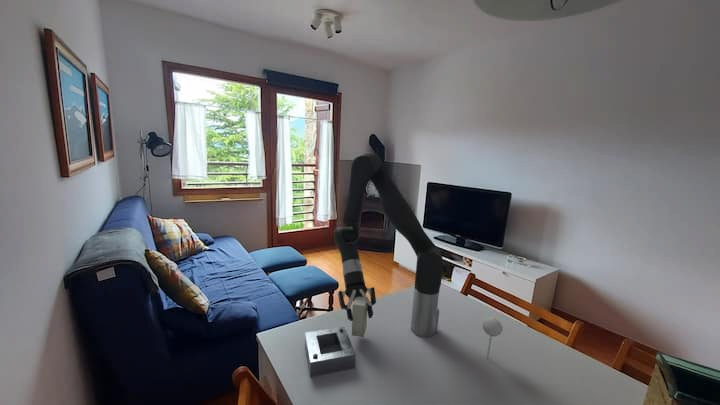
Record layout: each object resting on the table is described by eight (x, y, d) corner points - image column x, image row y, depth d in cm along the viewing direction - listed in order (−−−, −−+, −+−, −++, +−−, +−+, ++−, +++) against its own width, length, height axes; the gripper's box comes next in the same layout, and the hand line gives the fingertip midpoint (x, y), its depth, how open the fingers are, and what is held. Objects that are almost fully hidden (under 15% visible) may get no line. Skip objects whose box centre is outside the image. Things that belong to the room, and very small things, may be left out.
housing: (344, 338, 100) (344, 325, 99) (354, 368, 87) (355, 353, 86) (304, 345, 96) (305, 331, 95) (310, 377, 83) (310, 361, 82)
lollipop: (496, 355, 96) (502, 316, 93) (498, 367, 90) (505, 326, 87) (476, 350, 98) (482, 311, 95) (478, 361, 92) (484, 321, 89)
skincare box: (363, 337, 97) (364, 306, 94) (351, 335, 98) (352, 304, 95) (366, 326, 103) (368, 297, 100) (355, 324, 104) (356, 295, 101)
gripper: (336, 272, 101) (343, 320, 92) (373, 268, 105) (383, 313, 97) (333, 278, 107) (339, 324, 98) (368, 275, 111) (377, 318, 103)
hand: (361, 319), depth 97 cm, fingers closed on skincare box, 6 cm apart
